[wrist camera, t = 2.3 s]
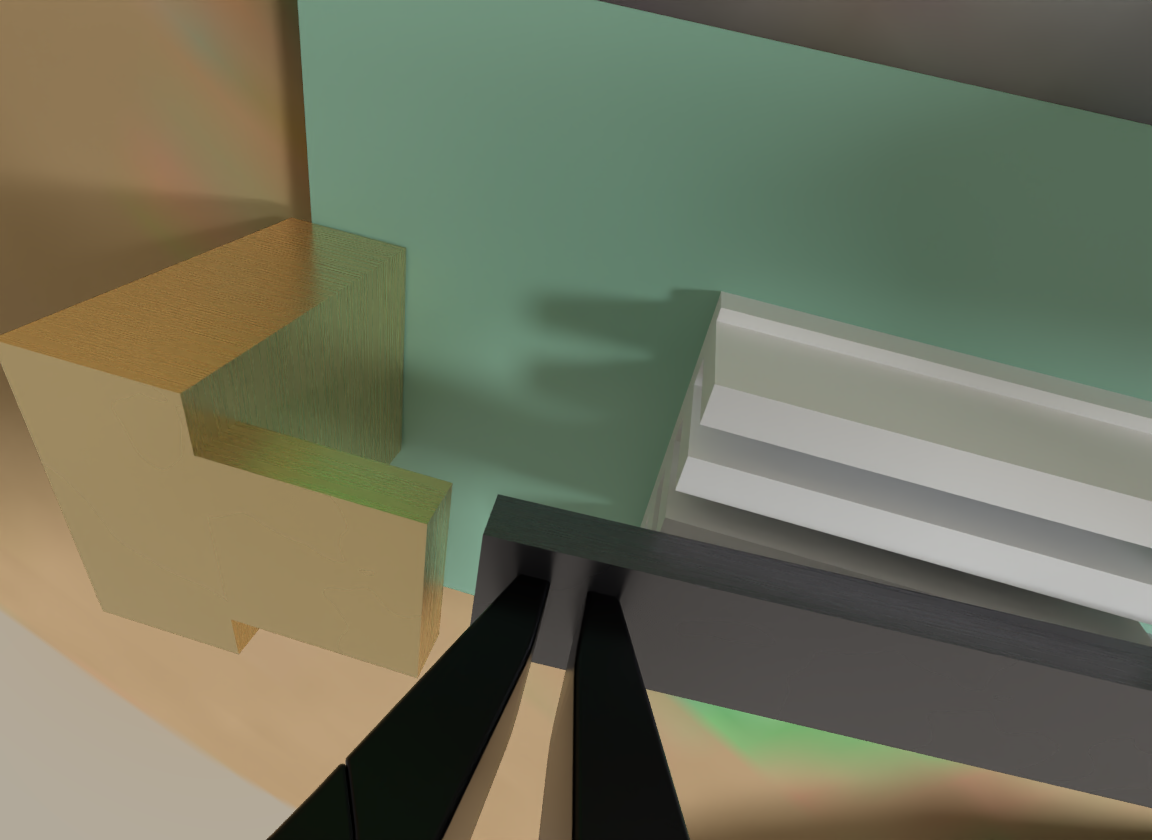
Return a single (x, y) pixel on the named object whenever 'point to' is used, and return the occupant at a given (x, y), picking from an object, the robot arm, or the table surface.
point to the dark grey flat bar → (840, 650)
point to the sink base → (754, 295)
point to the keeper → (244, 447)
